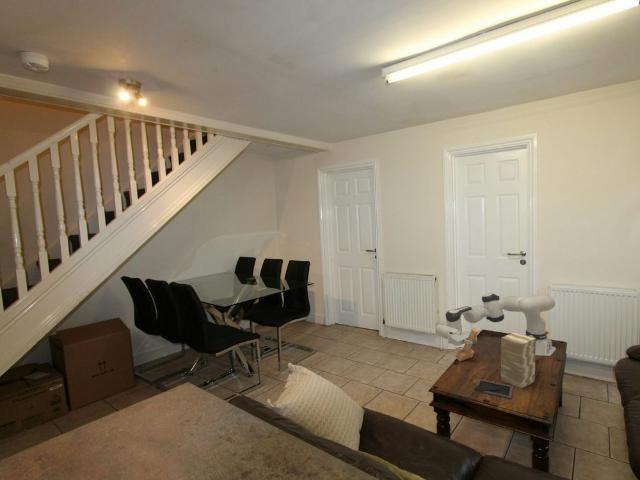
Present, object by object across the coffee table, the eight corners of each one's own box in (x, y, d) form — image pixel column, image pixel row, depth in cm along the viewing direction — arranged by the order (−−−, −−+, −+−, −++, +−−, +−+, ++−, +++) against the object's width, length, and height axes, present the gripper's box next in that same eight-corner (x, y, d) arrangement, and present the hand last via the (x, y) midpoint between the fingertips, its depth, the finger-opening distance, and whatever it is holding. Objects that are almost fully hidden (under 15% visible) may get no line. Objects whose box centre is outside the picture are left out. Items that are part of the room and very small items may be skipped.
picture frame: (474, 392, 194) (511, 400, 185) (474, 388, 194) (511, 397, 184) (478, 381, 205) (513, 388, 196) (478, 378, 205) (513, 385, 196)
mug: (532, 369, 215) (532, 354, 214) (544, 374, 209) (545, 359, 207) (520, 374, 210) (520, 359, 209) (532, 379, 203) (532, 364, 202)
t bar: (479, 326, 228) (484, 331, 225) (467, 353, 238) (471, 357, 235) (467, 330, 222) (472, 334, 219) (455, 356, 232) (459, 361, 229)
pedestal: (514, 373, 212) (514, 332, 209) (534, 381, 201) (535, 338, 198) (500, 380, 204) (501, 337, 202) (521, 388, 194) (522, 344, 191)
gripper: (466, 336, 243) (484, 342, 231) (446, 343, 232) (464, 350, 220) (465, 327, 242) (484, 333, 230) (446, 334, 231) (464, 341, 220)
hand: (474, 342), depth 225 cm, fingers closed on t bar, 3 cm apart
